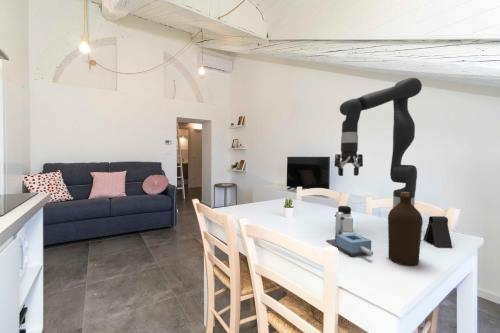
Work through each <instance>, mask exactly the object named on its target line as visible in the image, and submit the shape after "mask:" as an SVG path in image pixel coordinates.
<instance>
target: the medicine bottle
mask: <svg viewBox="0 0 500 333" xmlns="http://www.w3.org/2000/svg"><path fill="white" fill-rule="evenodd" d="M337 208H338V210H337V212H343V217H344V218H345V219H344V220H343V232H347V233H348V232H349V233H353V232H354V226H353V225H354V218H353V216H352V208H351V207H350V206H348V205H339V206H338V207H337Z"/></svg>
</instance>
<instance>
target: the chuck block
mask: <svg viewBox="0 0 500 333" xmlns="http://www.w3.org/2000/svg"><path fill="white" fill-rule="evenodd" d="M337 248H338V249H337ZM337 248H336V249H337V250H338V251H340V252H342V253H344V254H345V255H347V256H348V257H350V258H355V257H362V256H373V254H374V251H373V250H372V240H371V239H369V238H367V237H364V236H363V235H361V234H358V233H356V232H355V233H353V232H351V233H345V234H344V233H343V235H337Z"/></svg>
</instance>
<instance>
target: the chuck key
mask: <svg viewBox="0 0 500 333" xmlns="http://www.w3.org/2000/svg"><path fill="white" fill-rule="evenodd" d="M334 217H335V227H334V228H335V232H334V234H335V235H334V239H335V243H337V235H343V234H344V231H343V220H344V219H345V218H344V217H343V212H338V211H336V212H335V214H334Z"/></svg>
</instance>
